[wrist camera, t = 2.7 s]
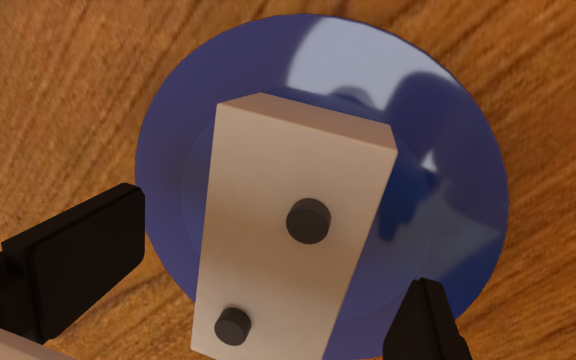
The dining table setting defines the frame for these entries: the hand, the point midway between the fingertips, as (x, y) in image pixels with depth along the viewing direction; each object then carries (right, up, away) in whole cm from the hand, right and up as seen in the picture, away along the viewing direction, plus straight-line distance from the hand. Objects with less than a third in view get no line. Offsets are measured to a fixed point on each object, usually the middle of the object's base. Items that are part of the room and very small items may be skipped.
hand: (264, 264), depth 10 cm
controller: (+1, +1, +3) cm, 3 cm away
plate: (+1, +1, +4) cm, 4 cm away
